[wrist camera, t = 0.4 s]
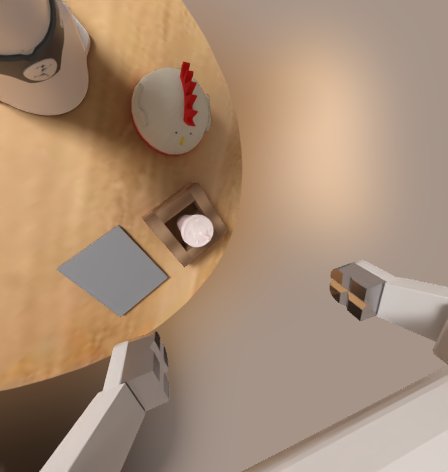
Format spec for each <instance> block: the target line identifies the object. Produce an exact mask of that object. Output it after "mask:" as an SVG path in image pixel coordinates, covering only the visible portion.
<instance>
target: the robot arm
mask: <svg viewBox="0 0 448 472" xmlns="http://www.w3.org/2000/svg"><path fill="white" fill-rule="evenodd" d="M89 48H90V37H89V35H88V32H87V31H86V29H85V28H84V27H83V26H82V25H81V23H80V22H79V21H78V20H77V19H76V18H75V16H74V15H73V14H72V13H71V10H70V8H69V7H68V5H67V4H66V3H65V2H62V1H61V0H0V101H1V102H4V103H6V104H9V105H11V106H13V107H15V108H17V109H20V110H23V111H26V112H29V113H33V114H38V115H59V114H63V113H66V112H69V111H71V110H73V109H74V108H76V107H77V106H78V105H79V104H80V103H81V102H82V100H83V99H84V97H85V95H86V92H87V89H88V83H89V75H88V68H87V55H88V52H89ZM331 278H332V279H333V280H332V282H331V283H330V292H331V294H332V296H333V298H334V299H335V300H336V301H337V302H338V303H340V304H343V305H346V307H347V310H348V311H349V312H350V313H351V314H352V315H353V316H355V317H356V318H357V319H358V320H359V321H362V320H365V319H367V318H370V317H373V316H376V315H377V317H380V318H382V319H384V320H387V321H389V322H392V323H394V324H396V325H399V326H401V327H403V328H405V329H408V330H410V331H413V332H415V333H417V334H420V335H422V336H424V337H426V338H429V339H431V340H434V341H436V344H435V346H434V348H433V353H434V354H435V355H436V356H437V357H439V358H440V359H441V360H443V361H444V362H445V363H446V364H448V287H445V286H440V285H435V284H430V283H425V282H421V281H416V280H411V279H407V278H402V277H399V278H396V277H394V276H392V275H391V274H389V273H387V272H385V271H383V270H381V269H380V268H378V267H376V266H374V265H372V264H370V263H368V262H367V261H364V260H359V261H356V262H353V263H351V264H347V265H344V266H342V267H339V268H336V269H333V271H332V272H331ZM167 371H168V358H167V352H166V349H165V347H164V345H163V344H161V343H160V336H159V334H158V332H157V331H155V332H152V333H149V334H146V335H143V336H140V337H136V338H133V339H130V340H128V341H125V342H122V343H119V344H116V345H115V347H114V349H113V352H112V356H111V360H110V364H109V368H108V373H107V376H106V380H105V384H104V388H103V391H102V392H99V393H98V394H97V395H96V396H95V398H94V399H93V400H92V402H91V403H90V404H89V406H88V407H87V409H86V410H85V411H84V413H83V414H82V415H81V417H80V418H79V419H78V421H77V422H76V423H75V425H74V426H73V427H72V429H71V430H70V432H69V433H68V434H67V436H66V437H65V438H64V440H63V441H62V442H61V444H60V445H59V447H58V448H57V449H56V450H55V452H54V453H53V454H52V456H51V457H50V459H49V460H48V461H47V463H46V464H45V465H44V467H43V468H42V469H41V471H40V472H120V471H121V468H122V466H123V464H124V462H125V459H126V457H127V455H128V452H129V450H130V447H131V445H132V443H133V441H134V439H135V436H136V434H137V432H138V429H139V427H140V425H141V423H142V420H143V418H144V416H145V411H147V410H150V409H152V408H154V407H157V406H159V405H161V404H163V403H165V402H168V401H169V381H168V379H167V377H166V373H167ZM242 472H448V365H447V366H445V367H443V368H442V369H440V370H437V371H436V372H434V373H432V374H430V375H428V376H426V377H424V378H422V379H420V380H418V381H416V382H414V383H412V384H411V385H408V386H407V387H405V388H403V389H401V390H399V391H397V392H395V393H393V394H391V395H389V396H387V397H385V398H383V399H381V400H379V401H378V402H376V403H374V404H372V405H370V406H368V407H366V408H364V409H362V410H360V411H358V412H356V413H354V414H352V415H350V416H348V417H347V418H345V419H343V420H341V421H339V422H337V423H335V424H333V425H332V426H329V427H327V428H325V429H324V430H322V431H320V432H318V433H316V434H314V435H312V436H310V437H308V438H306V439H304V440H302V441H300V442H298V443H296V444H294V445H293V446H290V447H289V448H287V449H285V450H283V451H281V452H279V453H277V454H275V455H273V456H271V457H269V458H267V459H265V460H263V461H261V462H260V463H258V464H256V465H254V466H252V467H250V468H248V469H246V470H244V471H242Z"/></svg>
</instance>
